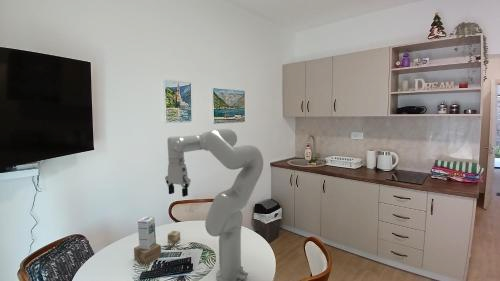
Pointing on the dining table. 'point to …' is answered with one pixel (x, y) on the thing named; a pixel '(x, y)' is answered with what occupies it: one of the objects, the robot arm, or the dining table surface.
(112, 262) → the dining table surface
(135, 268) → the dining table surface
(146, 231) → the syrup box
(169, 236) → the oak cube
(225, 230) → the robot arm
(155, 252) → the brown cardboard box
